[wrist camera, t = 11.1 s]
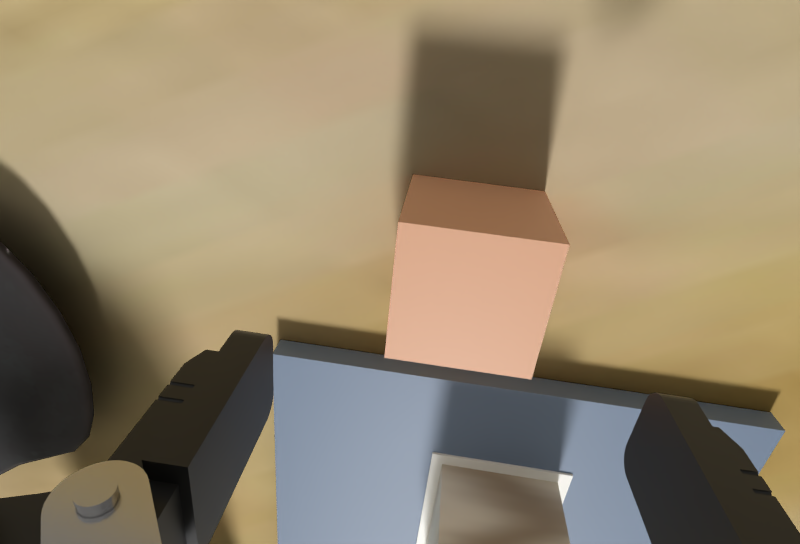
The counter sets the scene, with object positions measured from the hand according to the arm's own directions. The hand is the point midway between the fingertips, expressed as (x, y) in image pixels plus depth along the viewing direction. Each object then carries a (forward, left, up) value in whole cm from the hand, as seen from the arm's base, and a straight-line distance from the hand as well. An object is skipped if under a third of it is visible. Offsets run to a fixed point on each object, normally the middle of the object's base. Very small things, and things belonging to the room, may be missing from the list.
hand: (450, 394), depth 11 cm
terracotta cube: (0, 0, -8) cm, 8 cm away
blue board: (-3, +13, -8) cm, 16 cm away
